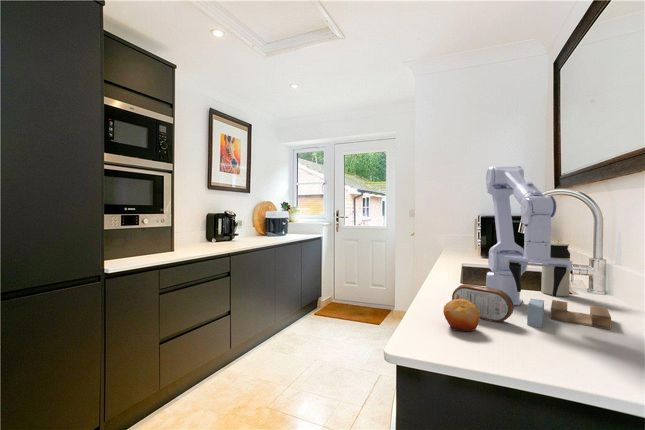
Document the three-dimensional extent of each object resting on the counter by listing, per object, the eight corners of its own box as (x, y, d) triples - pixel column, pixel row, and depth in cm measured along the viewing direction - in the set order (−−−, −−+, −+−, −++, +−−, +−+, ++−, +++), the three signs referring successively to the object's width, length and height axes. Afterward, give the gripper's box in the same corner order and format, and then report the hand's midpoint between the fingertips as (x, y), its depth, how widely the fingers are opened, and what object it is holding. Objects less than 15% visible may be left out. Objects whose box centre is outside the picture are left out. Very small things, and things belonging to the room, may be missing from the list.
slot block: (550, 318, 85) (550, 307, 85) (552, 310, 93) (552, 299, 93) (610, 329, 78) (611, 317, 78) (606, 318, 86) (607, 307, 86)
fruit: (475, 317, 82) (478, 294, 78) (479, 343, 75) (482, 319, 71) (442, 313, 84) (443, 291, 80) (443, 338, 78) (444, 315, 74)
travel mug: (560, 297, 107) (561, 244, 106) (536, 292, 114) (537, 242, 114) (574, 295, 110) (575, 243, 110) (550, 290, 117) (551, 241, 117)
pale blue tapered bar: (527, 325, 80) (527, 305, 80) (530, 316, 87) (530, 298, 87) (541, 328, 79) (541, 308, 78) (543, 318, 86) (544, 300, 86)
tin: (513, 323, 82) (514, 290, 82) (510, 326, 79) (511, 293, 79) (454, 310, 92) (454, 281, 92) (450, 312, 90) (450, 283, 90)
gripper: (503, 240, 84) (502, 291, 84) (572, 244, 75) (571, 301, 75) (507, 239, 90) (506, 287, 90) (572, 242, 81) (571, 295, 81)
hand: (536, 293), depth 83 cm, fingers open, 7 cm apart
